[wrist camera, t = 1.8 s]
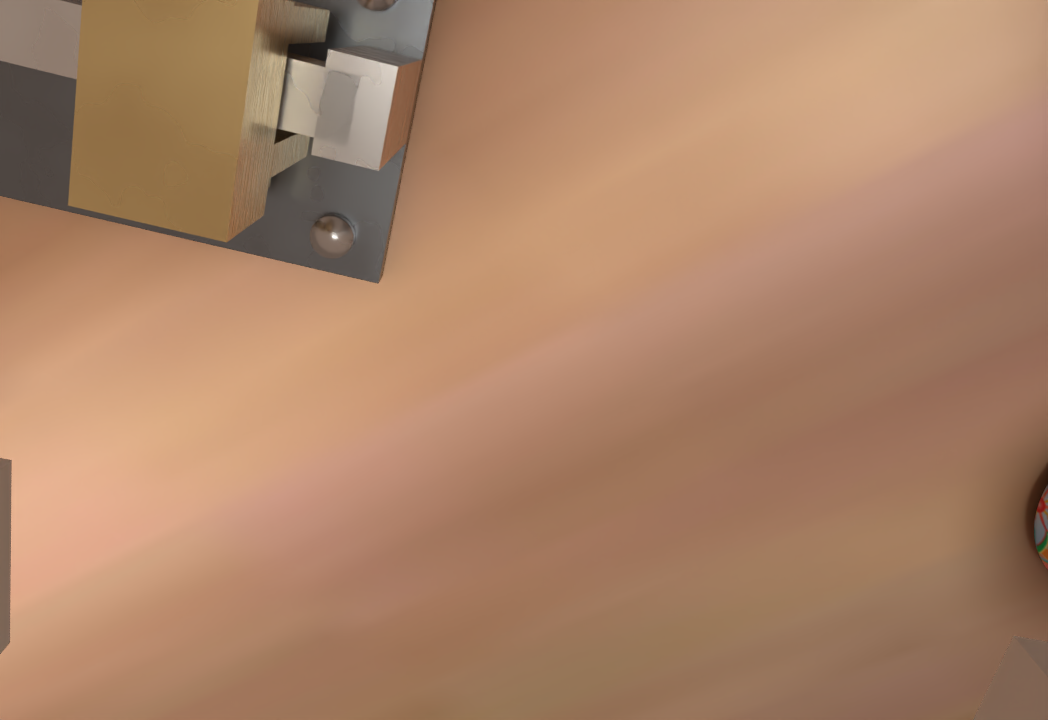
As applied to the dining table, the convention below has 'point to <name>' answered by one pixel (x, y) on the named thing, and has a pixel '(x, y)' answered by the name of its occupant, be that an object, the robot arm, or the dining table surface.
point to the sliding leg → (185, 109)
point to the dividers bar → (307, 94)
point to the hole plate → (294, 194)
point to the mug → (1042, 528)
